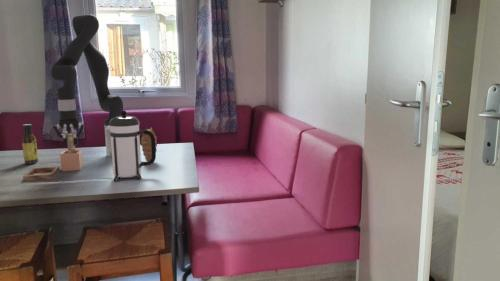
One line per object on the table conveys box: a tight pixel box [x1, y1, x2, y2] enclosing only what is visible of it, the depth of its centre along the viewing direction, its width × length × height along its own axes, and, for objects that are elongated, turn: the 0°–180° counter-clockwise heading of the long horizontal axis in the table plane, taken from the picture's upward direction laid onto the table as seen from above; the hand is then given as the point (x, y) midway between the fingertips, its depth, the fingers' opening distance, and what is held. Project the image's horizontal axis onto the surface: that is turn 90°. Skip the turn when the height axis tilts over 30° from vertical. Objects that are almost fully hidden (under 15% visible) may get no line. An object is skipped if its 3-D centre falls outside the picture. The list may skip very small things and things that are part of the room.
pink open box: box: [59, 149, 84, 172], centre depth 179 cm, size 8×8×9 cm
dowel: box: [66, 133, 77, 153], centre depth 178 cm, size 3×3×14 cm
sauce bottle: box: [21, 123, 39, 165], centre depth 191 cm, size 6×6×20 cm
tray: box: [22, 165, 61, 184], centre depth 167 cm, size 11×14×3 cm
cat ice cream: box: [140, 126, 158, 162], centre depth 193 cm, size 9×8×18 cm
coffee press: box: [106, 109, 157, 183], centre depth 166 cm, size 17×16×30 cm
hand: (71, 145), depth 177 cm, fingers closed on dowel, 3 cm apart
